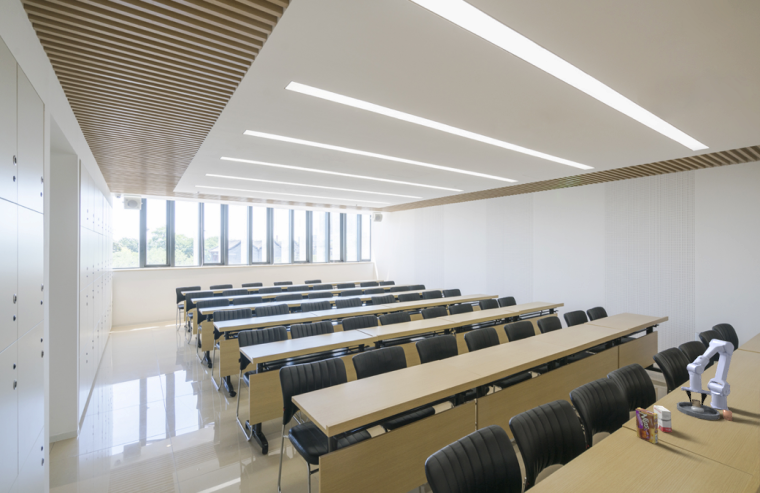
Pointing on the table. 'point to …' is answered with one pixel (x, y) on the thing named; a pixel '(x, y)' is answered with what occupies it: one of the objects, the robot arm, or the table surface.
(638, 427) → the candy box
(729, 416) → the terracotta bead
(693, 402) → the birch bead
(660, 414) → the ink box
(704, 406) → the groove tray
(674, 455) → the table surface
